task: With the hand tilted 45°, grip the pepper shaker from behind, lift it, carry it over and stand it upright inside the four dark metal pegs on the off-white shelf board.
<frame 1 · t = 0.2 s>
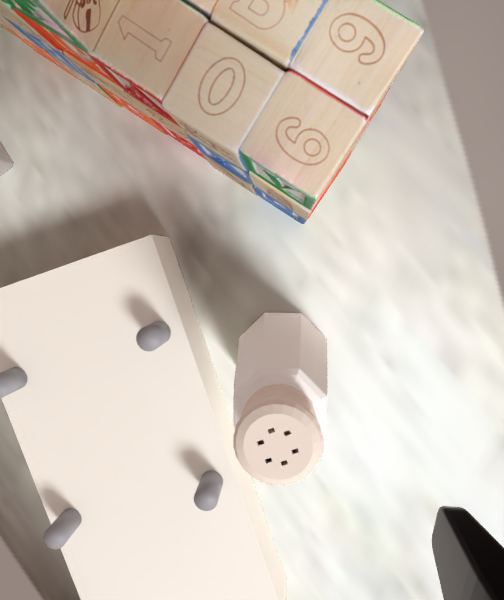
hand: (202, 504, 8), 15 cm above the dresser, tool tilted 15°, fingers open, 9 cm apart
stack of blocks: (174, 74, 22), on the dresser
shelf board: (146, 437, 24), on the dresser
pepper shaker: (282, 354, 23), on the dresser
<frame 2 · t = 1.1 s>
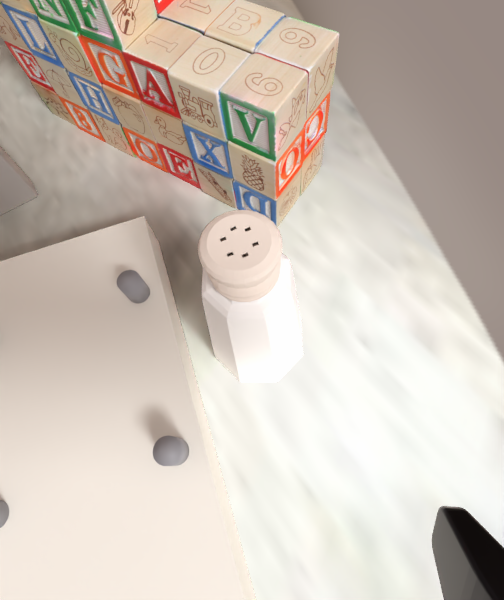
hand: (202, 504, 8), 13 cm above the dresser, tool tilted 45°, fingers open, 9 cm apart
stack of blocks: (178, 140, 30), on the dresser
shelf board: (106, 437, 21), on the dresser
pepper shaker: (259, 340, 23), on the dresser
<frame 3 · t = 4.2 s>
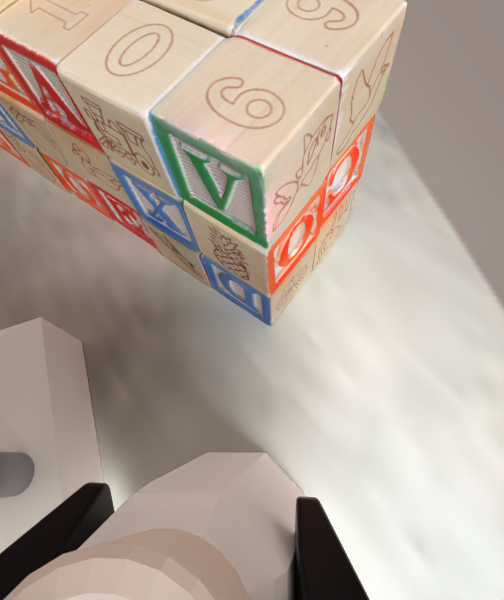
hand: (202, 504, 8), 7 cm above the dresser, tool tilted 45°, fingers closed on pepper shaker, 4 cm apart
stack of blocks: (137, 170, 20), on the dresser
pepper shaker: (236, 531, 13), on the dresser, touching gripper
when the fingers open (11 cm above the dresser, at t = 7.5 s): pepper shaker stays where it is, resting on shelf board.
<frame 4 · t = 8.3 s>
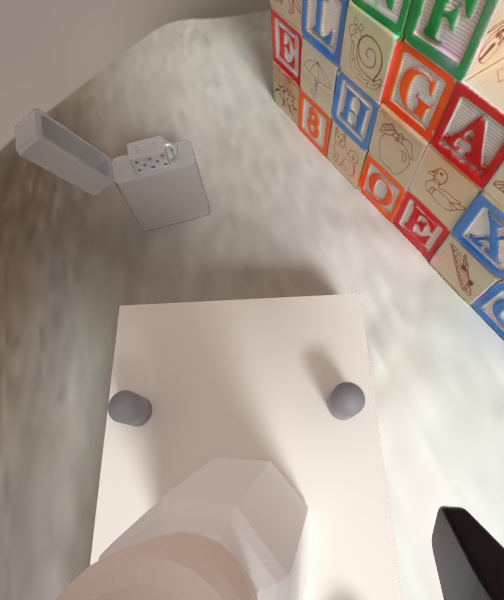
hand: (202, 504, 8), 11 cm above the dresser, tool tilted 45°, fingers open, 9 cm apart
stack of blocks: (412, 184, 24), on the dresser
shelf board: (247, 569, 16), on the dresser
lighter: (151, 219, 24), on the dresser
pepper shaker: (239, 531, 15), point 3 cm above the dresser, touching shelf board
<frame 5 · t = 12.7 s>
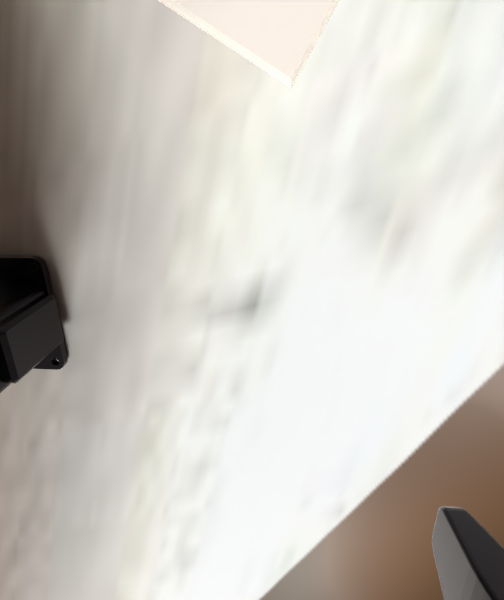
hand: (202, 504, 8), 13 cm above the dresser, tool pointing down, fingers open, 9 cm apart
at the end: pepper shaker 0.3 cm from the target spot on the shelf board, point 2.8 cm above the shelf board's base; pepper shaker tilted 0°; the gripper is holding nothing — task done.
